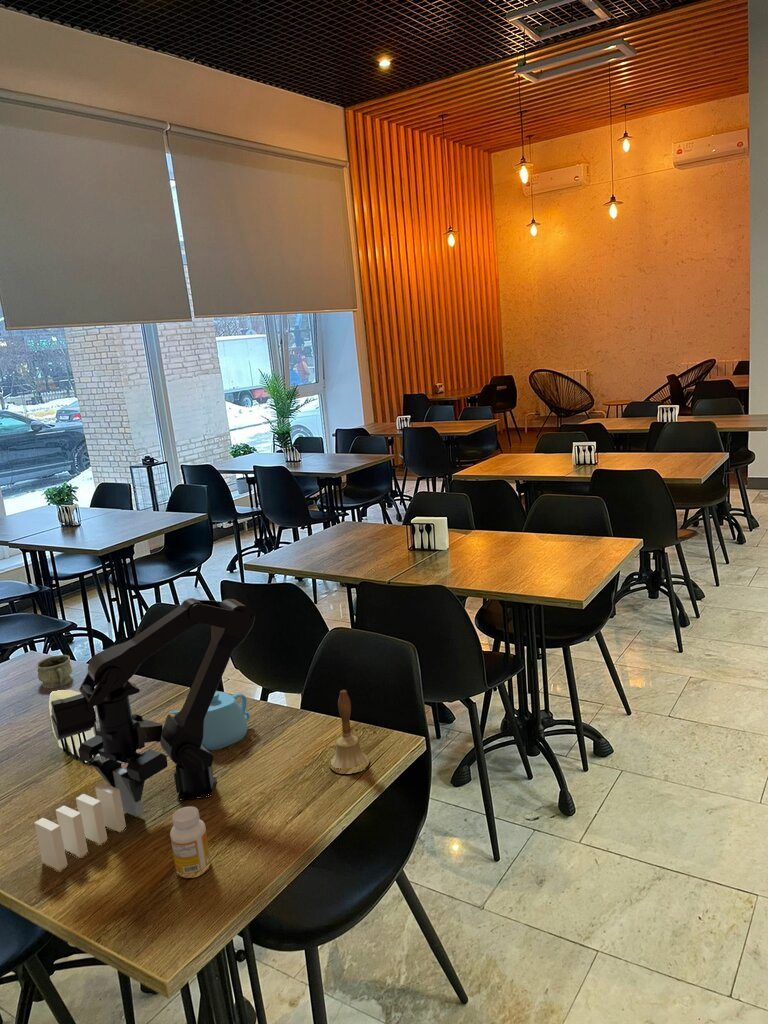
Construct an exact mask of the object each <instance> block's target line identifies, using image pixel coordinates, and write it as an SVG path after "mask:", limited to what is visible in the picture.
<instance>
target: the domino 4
mask: <svg viewBox="0 0 768 1024" xmlns="http://www.w3.org/2000/svg"><path fill="white" fill-rule="evenodd" d="M94 789H95V795H96V799H97V800H100V801H101V806H102V811H103V817H104V822H105V826H107V827H109V828H111V829H114V830H116V831H121V830H123V829H124V828H125V827H126V828H127V824H126V820H125V812H124V811H123V806H122V801H121V795H120V789H117V788H115V787H112V786H110V785H109V784H108V783H104V782H101V783H99V784H97V785H96V786H94Z"/></svg>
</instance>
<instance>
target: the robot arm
mask: <svg viewBox="0 0 768 1024" xmlns="http://www.w3.org/2000/svg"><path fill="white" fill-rule="evenodd" d="M255 618H256V617H255V614H254V612H253V610H252V609H251V608H250V607H249V606H247V605H245V604H243V603H242V602H240V601H238V600H236V599H233V598H225V599H224V600H222V601H219V600H212V599H196V598H193V597H192V598H191V597H190V598H186V599H184V600H183V601H182V603H181V604H180V605H179V606H177V607H175V608H173V609H172V610H171V611H170V612H169V613H167V614H166V615H164V616H162V617H161V618H160V619H158V620H157V621H156V622H154V623H153V624H151V625H149V626H148V627H147V628H146V629H144V630H143V631H141V632H139V633H138V634H137V635H135V636H134V637H132V638H131V639H129V640H127V641H124V642H122V643H119V644H115V645H111V646H109V647H108V648H105V649H103V650H101V651H98V652H97V653H95V654H94V655H92V657H91V658H90V659H89V660H88V665H87V673H86V676H85V677H84V679H83V680H82V683H81V685H80V687H79V689H78V690H79V694H75V695H73V696H72V695H71V696H69V697H65V698H59V699H55V700H52V701H51V702H50V705H51V715H50V719H51V724H52V727H53V731H54V734H55V737H56V739H57V741H61V740H63V739H66V738H70V737H73V736H76V735H80V734H82V733H86V732H89V731H91V730H92V728H95V723H97V719H98V725H99V727H98V728H96V729H94V730H95V736H92V737H91V738H89V739H87V740H85V741H84V742H81V744H80V746H79V747H78V749H77V751H78V756H79V759H80V760H83V761H84V762H87V763H89V762H90V761H92V762H90V766H91V767H92V768H93V769H95V770H96V771H97V772H98V774H99V775H100V776H101V777H102V778H103V779H104V781H105V782H106V784H107V785H110V786H112V787H115V782H114V776H113V771H114V770H116V769H118V768H119V767H121V768H123V767H122V765H125V764H127V766H126V768H125V769H126V770H127V772H126V773H124V774H123V775H121V778H122V780H123V781H124V783H125V785H126V787H127V789H128V791H129V792H130V794H131V796H132V798H133V799H134V801H135V802H138V801H140V800H141V801H142V797H143V792H144V787H145V783H146V782H145V781H147V780H148V779H150V778H152V777H153V776H154V775H156V774H158V773H160V772H161V771H163V770H165V769H167V768H168V758H169V759H170V760H171V761H172V763H174V764H176V765H175V770H174V773H173V778H174V784H175V792H176V793H178V795H177V797H176V798H177V800H178V799H179V800H178V801H181V800H180V799H187V800H190V799H189V798H197V797H206V796H207V798H209V797H208V796H210V795H211V794H212V795H213V792H214V789H213V787H214V788H215V786H214V784H215V785H216V783H215V781H217V777H216V776H214V772H213V761H214V759H215V758H214V757H215V756H214V754H213V753H212V752H211V750H208V749H207V748H206V747H205V746H204V745H203V744H202V741H203V734H204V719H205V716H206V714H207V711H208V709H209V707H210V704H211V702H212V699H213V697H214V695H215V692H217V690H218V687H219V686H220V685H219V684H220V683H221V680H222V678H223V675H224V673H225V671H226V668H227V666H228V664H229V661H230V659H231V657H232V655H233V652H234V650H235V649H237V648H238V646H239V645H241V643H243V642H244V641H245V640H246V638H247V636H248V634H249V633H250V631H251V630H252V629H253V626H254V624H255V623H254V622H255ZM196 624H202V625H203V624H204V625H208V626H210V627H211V631H210V635H211V636H210V641H209V642H210V643H209V645H208V647H207V649H206V651H205V654H204V656H203V659H202V661H201V663H200V666H199V668H198V670H197V672H196V675H195V677H194V680H193V681H192V685H191V686H190V689H189V691H188V694H187V697H186V699H185V701H184V703H183V705H182V708H181V709H180V710H179V711H180V712H179V713H178V714H177V715H175V714H174V716H173V715H171V714H167V715H166V718H165V722H164V725H163V724H162V723H160V722H156V721H153V720H149V719H144V718H143V715H140V714H137V713H134V714H133V713H132V708H131V702H130V701H131V700H130V696H133V695H136V694H139V693H140V691H141V690H140V688H139V687H138V686H137V685H136V683H133V682H131V681H130V679H132V678H133V676H134V675H135V674H136V673H137V671H138V670H139V668H140V666H142V664H143V663H144V662H145V661H146V660H147V659H149V658H150V657H152V656H153V655H155V654H156V653H157V652H158V651H160V650H161V649H163V648H164V647H165V646H167V645H168V644H170V643H171V642H173V641H174V640H175V639H177V638H178V637H179V636H181V635H182V634H183V633H185V632H186V631H188V630H189V629H191V628H192V627H193V626H195V625H196ZM95 707H96V711H95ZM96 714H97V715H96ZM152 742H156V743H160V746H161V748H162V749H163V751H164V752H165V753H166V754H165V753H161V752H159V751H156V750H153V749H150V748H149V749H147V750H146V751H144V752H142V753H140V752H137V750H142V749H144V748H145V747H146V743H147V744H148V743H152ZM167 756H168V758H167ZM92 759H93V760H92ZM115 788H116V787H115ZM212 791H213V792H212ZM208 794H209V795H208ZM197 799H198V798H197Z"/></svg>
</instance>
